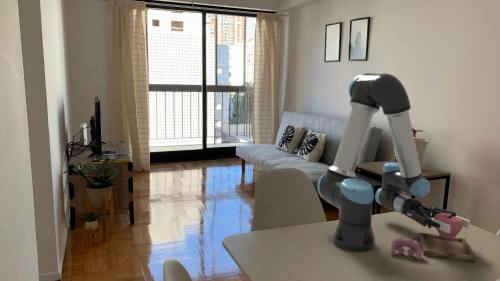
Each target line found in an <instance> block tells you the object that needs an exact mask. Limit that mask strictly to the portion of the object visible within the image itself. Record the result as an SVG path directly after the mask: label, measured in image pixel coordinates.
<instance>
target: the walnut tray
mask: <svg viewBox="0 0 500 281" xmlns="http://www.w3.org/2000/svg"><path fill="white" fill-rule="evenodd" d="M418 240H419V244H420V245H421V252H422V254H423V256H424V257H425V256H427V257H432V258H439V259H447V260H454V261H458V262H459V261H460V262H467V263H474V264H476V258H477V257H476V256H475V254H474V251H473V250H472V248H471V247H470V246H471V245H469V243H468V242H467V239H466V238H465V237H460V236H459V237H457V236H456V237H455V238H454V239H444V238H442V237H440V235H439V234H434V233H427V232H418Z"/></svg>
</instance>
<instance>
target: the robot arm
mask: <svg viewBox="0 0 500 281" xmlns="http://www.w3.org/2000/svg"><path fill="white" fill-rule="evenodd" d="M348 94H349V97H350V101H349V105H350V106H351V111H350V114H349V117H348V119H347V122H346V124H345V128H344V130H343V133H342V137H341V140H340V144H339V147H338V149H337V153H336V156H335V158H334V162H333V164H332V165H331V166H329V167H327V170H326V172H324V173H323V174H322V175H321V176H320V177H319V178H318V181H317V192H318V195H319V196H320V197H321V198H322V199H323V200H324V201H325V202H326V203H328V204H331V205H332V206H334V207H335V208H336V209H338V210H339V213H338V222H337V225H336V228H335V229H334V233H333V235H332V242H333V244H334V245H335V246H337V247H338V248H341V249H342V250H345V251H350V252H356V253H360V252H361V253H363V252H369V251H372V250H373V249H374V248H375V245H376V244H375V242H376V240H375V235H374V234H375V233H374V231H373V227H372V221H373V220H372V218H373V206H374V199H375V201H376V202H377V203H378V204H379V205H381V206H382V207H384V208H387V209H389V210H392V211H394V212H396V213H399V214H400V215H401V216H402V215H404V216H405V217H407V218H409V219H411V220H413V221H415V222H416V223H418V224H419V225H421V226H422V227H427V228H428V229H432V227H433V228H435V229H436V228H437V229H439V230H442V231H444V232H446V233H450V225H448V224H446V223H443V222H441V221H438V220H436V219H434V217H435V215H436V214H438V213H446V214H451V215H452V214H455V215H456V217H459V218H460V219H461V220H462V223H463V227H462V228H466V229H469V228H470V223H471V220H469V219H466V218H464V217H461V216H458V215H457V212H456V211H451V210H447V209H444V208H440V207H437V206H434V205H430V207H428V206H426V205H423V204H422V202H421V200H418V199H416V198H424V197H427V195H428V194H429V193H430V191H431V182H429V180H428V179H426V177H423V174H422V168H421V164H420V159H419V154H418V150H417V145H416V140H415V136H414V130H413V126H412V122H411V116H410V111H411V108H412V107H411V101H410V99H409V95H408V92H407V89H406V88H405V86H404V85H403V83H402V82H401V80H399V79H398V77H397V76H394V75H393V74H390V73H374V72H373V73H371V72H368V73H367V72H366V73H363V74H362V73H361V74H359V75H357V76H355V77H353V79H352V80H351V82H350V83H349V86H348ZM380 109H382V112H383V115H385V116H386V117H387V121H388V126H389V130H390V134H391V138H392V142H393V148H394V151H395V152H394V153H395V156H396V160H397V162H394V161H392V162H390V161H389V162H385V163H384V164H383V168H382V173H381V174H382V176H381V178H382V180H381V187H380V188H378V189H377V190H376V193H375V196H374V188H373V186H372V184H371V183H369V182H367V181H366V180H363V179H359V178H357V176H356V173H355V170H356V168H357V164H358V162H359V159H360V155H361V152H362V150H363V147H364V143H365V140H366V138H367V134H368V133H369V128H370V126H371V123H372V119H373V117H374V115H375V114H376V113H378V112H379V111H380ZM401 191H403V192H405V193H406V194H409V195H411V196H413V197H415V198H413V197H410V196H408V195H405V194H401ZM437 229H436V230H437Z"/></svg>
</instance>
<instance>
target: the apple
mask: <svg viewBox="0 0 500 281" xmlns="http://www.w3.org/2000/svg"><path fill="white" fill-rule="evenodd" d="M456 216H457V214H456V215H455V214H452V215H451V214H446V213H438V214H436V215H435V217H434V218H433V219H436V220H438V221H441V222H443V223H446V224H448V225H450V233H446V232H444V231H442V230H439V229H437V228H435V229H436V231H437V233H438V235H440V237H442V238H444V239H454V238H455V237H457V235H458V234H460V233H461V231H462V230H463V228H464V227H463V223H462V220H461V219H460V218H459V217H460V216H458V217H456Z"/></svg>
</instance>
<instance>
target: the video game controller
mask: <svg viewBox="0 0 500 281" xmlns="http://www.w3.org/2000/svg"><path fill="white" fill-rule="evenodd" d="M390 245H391V246H390V255H391V256H392V257H393V256H394V255H395V254H396V251H397V253H398V254H399V255H403V254H404V253H405V249H404V248H408V249H407V251H406V253H407V255H408V256H409V257H413V256H414V255H416V260H417V261H419V262H420V260H421V258H422V248H421V244H420V242H418V241H416V240H414V239H411V238H408V237H407V238H406V237H396V238H395V239H393V240H392V242H391V244H390Z"/></svg>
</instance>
